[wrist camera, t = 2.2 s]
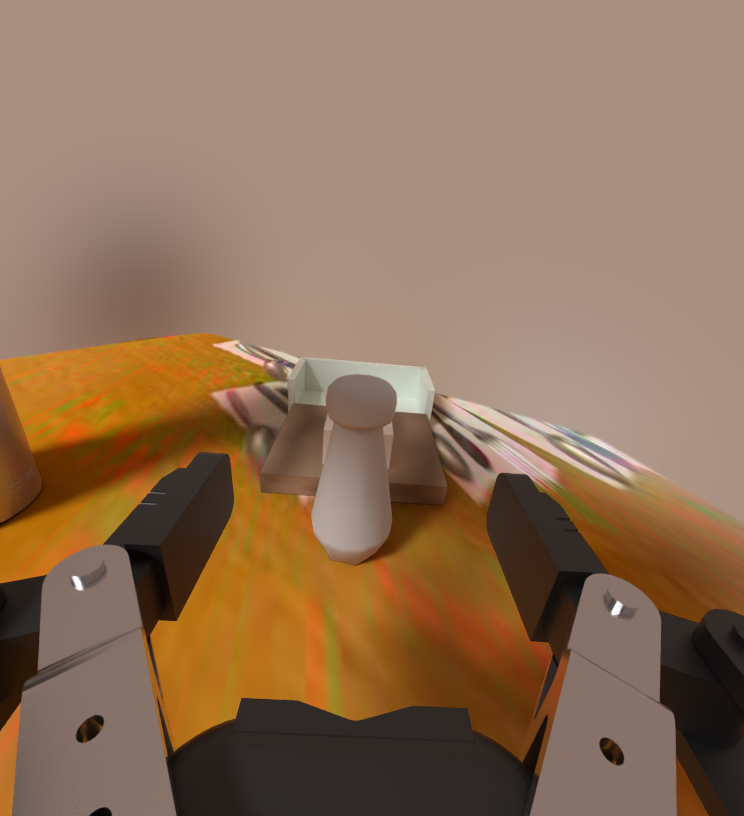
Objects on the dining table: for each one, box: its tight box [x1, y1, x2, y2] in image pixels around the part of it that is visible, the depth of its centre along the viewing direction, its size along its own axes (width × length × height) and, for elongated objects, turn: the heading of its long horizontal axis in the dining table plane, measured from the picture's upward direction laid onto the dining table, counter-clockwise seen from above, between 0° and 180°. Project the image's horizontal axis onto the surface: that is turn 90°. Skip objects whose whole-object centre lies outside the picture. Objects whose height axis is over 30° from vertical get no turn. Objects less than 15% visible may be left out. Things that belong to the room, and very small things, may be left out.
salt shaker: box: [311, 374, 397, 565], centre depth 24 cm, size 6×6×13 cm
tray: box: [288, 357, 435, 424], centre depth 47 cm, size 17×8×5 cm, turn 90°
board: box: [260, 403, 448, 505], centre depth 38 cm, size 16×14×2 cm
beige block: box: [322, 414, 393, 469], centre depth 34 cm, size 6×5×4 cm
